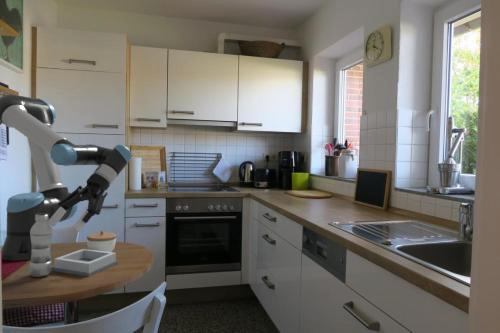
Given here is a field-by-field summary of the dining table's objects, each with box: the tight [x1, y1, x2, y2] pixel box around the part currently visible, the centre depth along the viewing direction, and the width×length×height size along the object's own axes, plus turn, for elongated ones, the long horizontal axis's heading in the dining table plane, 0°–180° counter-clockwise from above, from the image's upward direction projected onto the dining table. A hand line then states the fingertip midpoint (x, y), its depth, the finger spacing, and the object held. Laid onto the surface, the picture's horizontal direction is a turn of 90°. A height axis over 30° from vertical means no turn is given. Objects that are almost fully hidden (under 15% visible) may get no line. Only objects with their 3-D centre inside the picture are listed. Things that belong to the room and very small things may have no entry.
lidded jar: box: [86, 230, 117, 252], centre depth 139 cm, size 11×11×9 cm
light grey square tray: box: [51, 248, 119, 277], centre depth 124 cm, size 15×15×4 cm
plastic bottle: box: [28, 214, 53, 278], centre depth 113 cm, size 6×7×20 cm
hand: (62, 226), depth 117 cm, fingers open, 13 cm apart
